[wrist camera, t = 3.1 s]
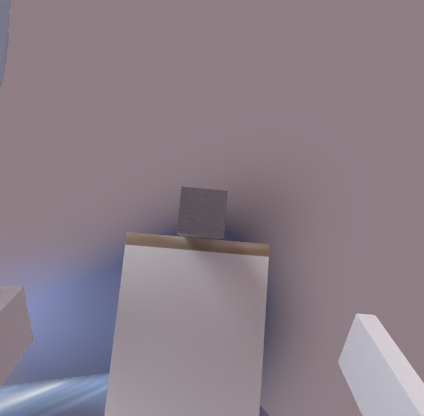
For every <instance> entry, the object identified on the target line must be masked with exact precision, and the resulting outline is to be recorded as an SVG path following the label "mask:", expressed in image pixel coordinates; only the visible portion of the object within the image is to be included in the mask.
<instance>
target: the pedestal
mask: <svg viewBox="0 0 424 416" xmlns="http://www.w3.org/2000/svg"><path fill="white" fill-rule="evenodd" d="M268 259H269V244H268V245H267V244H257V243H245V242H233V241H222V240H211V239H200V238H188V237H176V236H164V235H153V234H142V233H130V232H127V237H126V245H125V253H124V261H123V269H122V277H121V286H120V294H119V301H118V309H117V318H116V326H115V333H114V342H113V350H112V358H111V366H110V374H109V382H108V390H107V398H106V406H105V414H104V416H259V412H260V395H261V378H262V361H263V344H264V327H265V310H266V293H267V276H268Z"/></svg>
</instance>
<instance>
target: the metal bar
mask: <svg viewBox="0 0 424 416" xmlns="http://www.w3.org/2000/svg"><path fill="white" fill-rule="evenodd" d="M227 192H228V191H221V190H210V189H200V188H188V187H181V198H180V208H179V217H178V227H177V233H178V234H179V235H181V236H183V237H188V238H200V239H211V240H216V239H219V238H223V237H224V230H225V217H226V204H227Z"/></svg>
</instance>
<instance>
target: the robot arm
mask: <svg viewBox="0 0 424 416" xmlns="http://www.w3.org/2000/svg"><path fill="white" fill-rule="evenodd" d="M10 2H11V0H0V86H1V84H2V80H3V75H4V68H5V64H6V58H7V49H8V39H9V38H8V27H9V9H10ZM32 342H33V334H32V329H31V324H30V318H29V313H28V308H27V302H26V297H25V292H24V287H17V286H5V285H4V286H2V287H1V288H0V387H1V385H2V384H3V382H4V381H5V380H6V378H7V377H8V375H9V374H10V372H11V371H12V370H13V368H14V367H15V366H16V364H17V363H18V361H19V360H20V359H21V357H22V356H23V354H24V353H25V351H26V350H27V349H28V347H29V346H30V344H31V343H32ZM338 363H339V366H340V367H341V370H342V372H343V374H344V376H345V379H346V381H347V383H348V385H349V387H350V389H351V392H352V394H353V396H354V398H355V400H356V403H357V405H358V407H359V409H360V412H361V414H362V416H424V383H423V382H422V380H421V379H420V378H419V376H418V375H417V373H416V372H415V371H414V369H413V368H412V366H411V365H410V364H409V362H408V361H407V359H406V358H405V356H404V355H403V354H402V352H401V351H400V349H399V348H398V347H397V345H396V344H395V342H394V341H393V340H392V339H391V337H390V335H389V334H388V333H387V331H386V330H385V328H384V327H383V326H382V325H381V323H380V321H379V320H378V319H377V317H376V316H375V315H367V314H356V316H355V319H354V321H353V324H352V327H351V330H350V332H349V335H348V338H347V340H346V343H345V345H344V348H343V351H342V353H341V356H340V359H339V361H338Z"/></svg>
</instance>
